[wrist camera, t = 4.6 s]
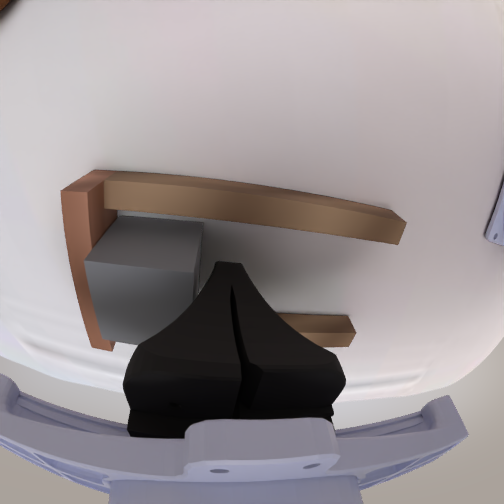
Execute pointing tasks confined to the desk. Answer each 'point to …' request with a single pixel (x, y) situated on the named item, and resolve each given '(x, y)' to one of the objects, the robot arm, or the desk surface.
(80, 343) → the desk surface
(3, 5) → the wooden figurine
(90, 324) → the channel
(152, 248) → the grey cube
